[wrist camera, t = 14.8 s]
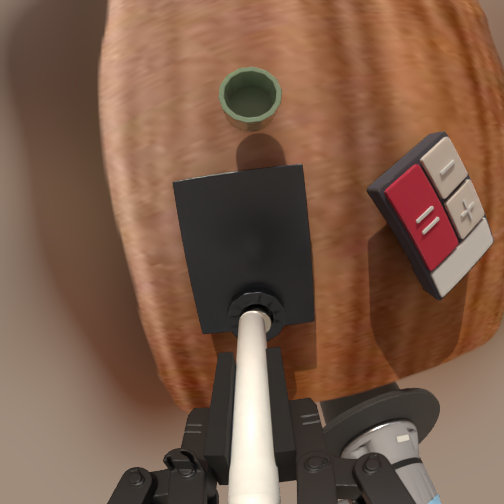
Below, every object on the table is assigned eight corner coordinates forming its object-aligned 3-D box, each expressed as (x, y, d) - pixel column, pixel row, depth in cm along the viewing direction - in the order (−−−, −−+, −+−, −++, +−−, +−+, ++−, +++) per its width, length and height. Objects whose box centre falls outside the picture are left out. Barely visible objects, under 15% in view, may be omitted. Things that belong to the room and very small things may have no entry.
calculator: (449, 128, 20) (498, 243, 23) (427, 133, 24) (477, 235, 27) (379, 191, 22) (442, 305, 25) (362, 188, 26) (424, 291, 29)
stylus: (265, 326, 20) (283, 526, 6) (241, 329, 20) (232, 528, 6) (262, 305, 20) (280, 513, 5) (237, 307, 20) (221, 515, 5)
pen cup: (279, 129, 24) (286, 118, 20) (227, 135, 24) (222, 126, 20) (272, 83, 23) (277, 64, 18) (221, 89, 23) (215, 71, 18)
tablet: (312, 323, 30) (317, 334, 27) (205, 335, 30) (202, 348, 28) (300, 164, 25) (305, 163, 23) (175, 181, 26) (168, 182, 23)
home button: (271, 327, 27) (272, 334, 26) (244, 330, 28) (243, 338, 26) (268, 303, 27) (269, 309, 25) (239, 306, 27) (239, 313, 26)
